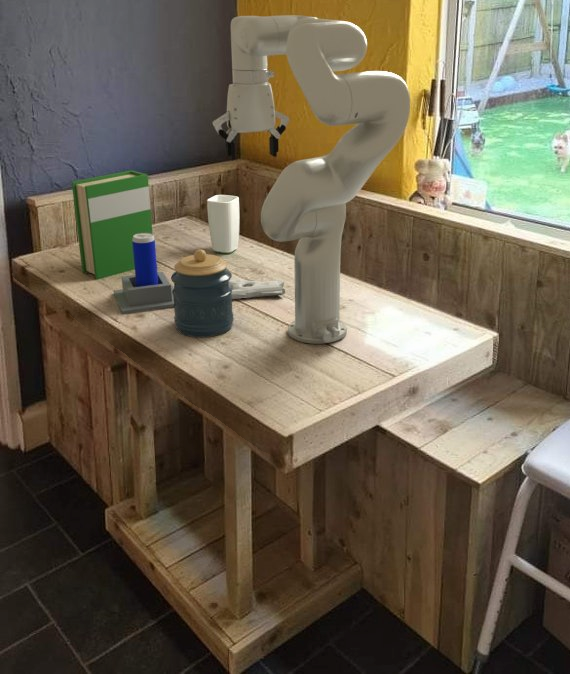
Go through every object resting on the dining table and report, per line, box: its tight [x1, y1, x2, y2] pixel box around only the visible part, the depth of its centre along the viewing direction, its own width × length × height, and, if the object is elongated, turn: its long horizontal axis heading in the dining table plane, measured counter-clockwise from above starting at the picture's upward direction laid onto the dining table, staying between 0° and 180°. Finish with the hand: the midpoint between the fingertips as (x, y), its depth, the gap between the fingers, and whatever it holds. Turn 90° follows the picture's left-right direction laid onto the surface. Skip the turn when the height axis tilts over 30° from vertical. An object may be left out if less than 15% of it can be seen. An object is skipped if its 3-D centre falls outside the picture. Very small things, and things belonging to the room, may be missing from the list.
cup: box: [206, 194, 240, 254], centre depth 229 cm, size 7×7×15 cm
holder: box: [113, 271, 174, 315], centre depth 197 cm, size 14×14×5 cm
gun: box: [229, 278, 286, 300], centre depth 201 cm, size 18×3×10 cm
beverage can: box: [132, 233, 158, 287], centre depth 195 cm, size 5×5×15 cm
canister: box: [170, 248, 234, 338], centre depth 179 cm, size 13×13×18 cm
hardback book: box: [71, 169, 154, 281], centre depth 215 cm, size 18×7×24 cm, turn 132°
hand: (252, 157), depth 185 cm, fingers open, 9 cm apart
